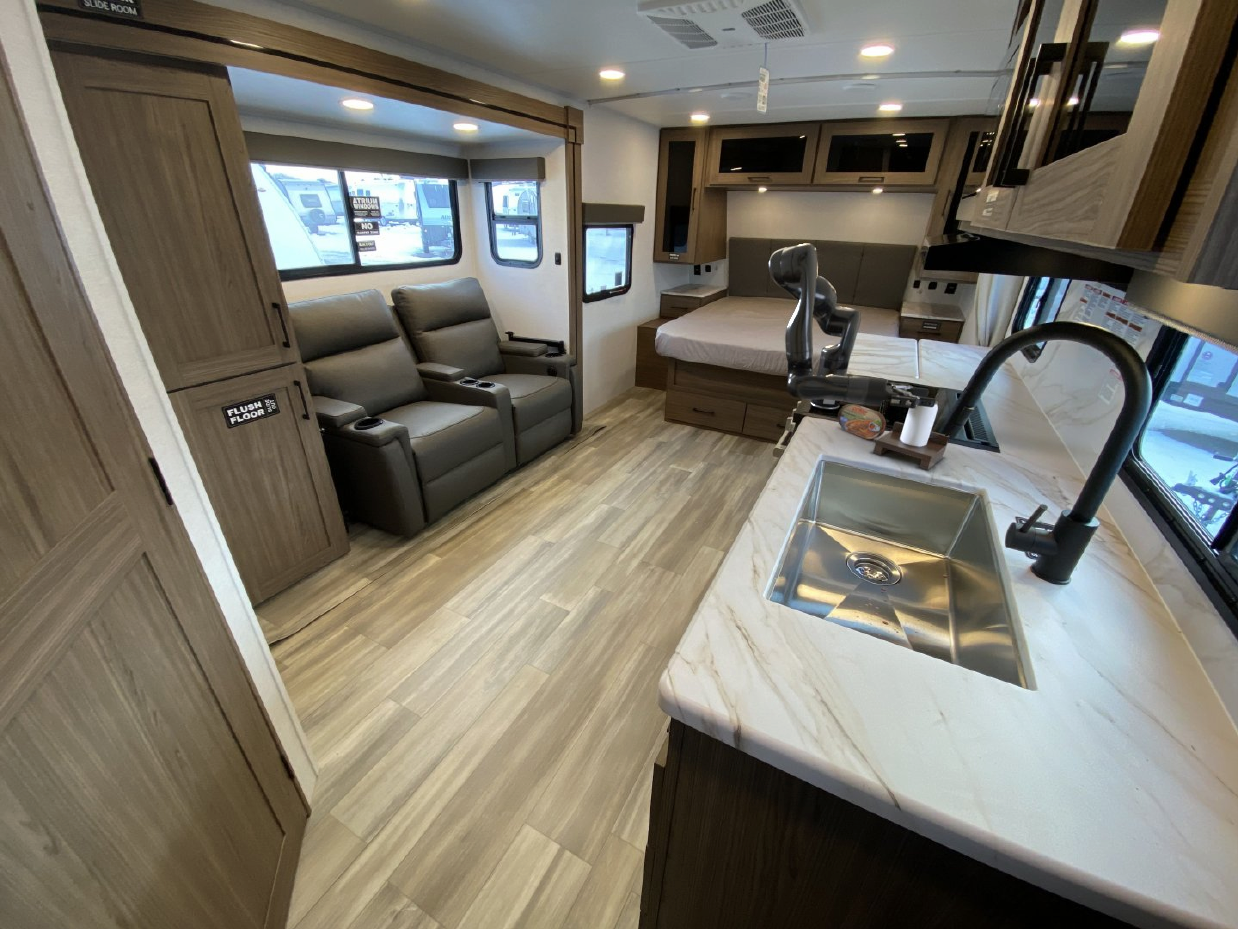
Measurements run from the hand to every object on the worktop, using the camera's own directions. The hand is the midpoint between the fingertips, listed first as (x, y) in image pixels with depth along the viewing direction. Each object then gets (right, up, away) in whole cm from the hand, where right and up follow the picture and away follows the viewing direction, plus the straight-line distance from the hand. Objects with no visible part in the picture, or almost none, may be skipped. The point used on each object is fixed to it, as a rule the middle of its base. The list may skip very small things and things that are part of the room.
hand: (931, 397), depth 129 cm
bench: (-2, -15, +8) cm, 17 cm away
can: (-1, -12, +6) cm, 13 cm away
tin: (-9, -8, +21) cm, 25 cm away
